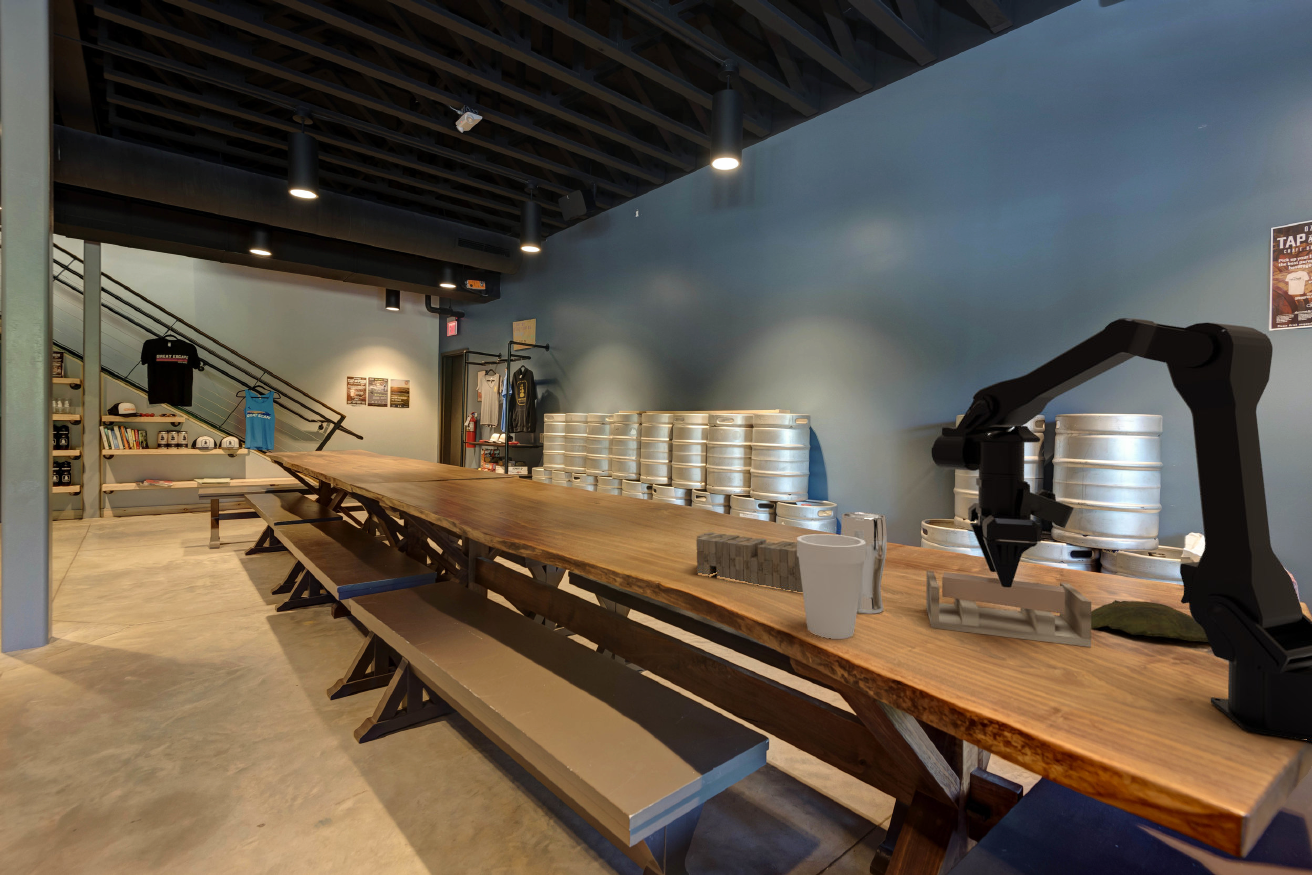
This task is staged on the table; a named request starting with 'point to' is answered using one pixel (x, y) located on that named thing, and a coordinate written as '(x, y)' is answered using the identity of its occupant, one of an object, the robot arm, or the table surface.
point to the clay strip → (1004, 592)
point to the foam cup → (831, 582)
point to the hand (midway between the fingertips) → (1000, 578)
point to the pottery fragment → (1147, 620)
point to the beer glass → (869, 556)
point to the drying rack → (1013, 618)
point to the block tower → (750, 560)
